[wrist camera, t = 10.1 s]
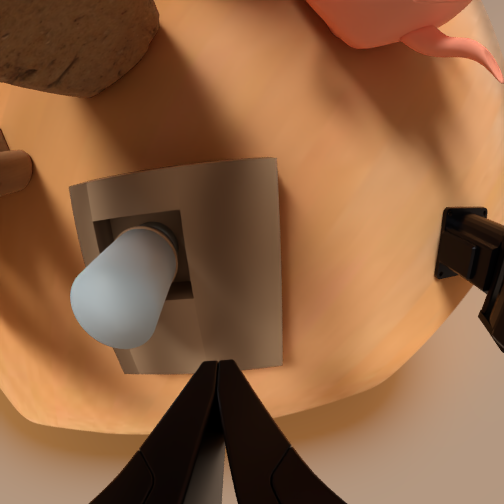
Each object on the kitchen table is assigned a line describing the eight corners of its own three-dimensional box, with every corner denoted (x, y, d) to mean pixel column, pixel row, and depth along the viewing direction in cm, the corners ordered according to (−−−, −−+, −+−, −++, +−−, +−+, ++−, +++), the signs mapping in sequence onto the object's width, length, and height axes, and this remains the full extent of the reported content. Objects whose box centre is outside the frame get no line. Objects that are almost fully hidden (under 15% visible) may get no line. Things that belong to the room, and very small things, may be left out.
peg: (179, 212, 17) (146, 260, 10) (188, 273, 19) (168, 350, 11) (119, 219, 17) (57, 267, 9) (131, 277, 18) (87, 348, 11)
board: (268, 156, 17) (276, 158, 14) (276, 340, 22) (282, 365, 19) (90, 180, 16) (68, 186, 13) (133, 349, 21) (124, 373, 18)
